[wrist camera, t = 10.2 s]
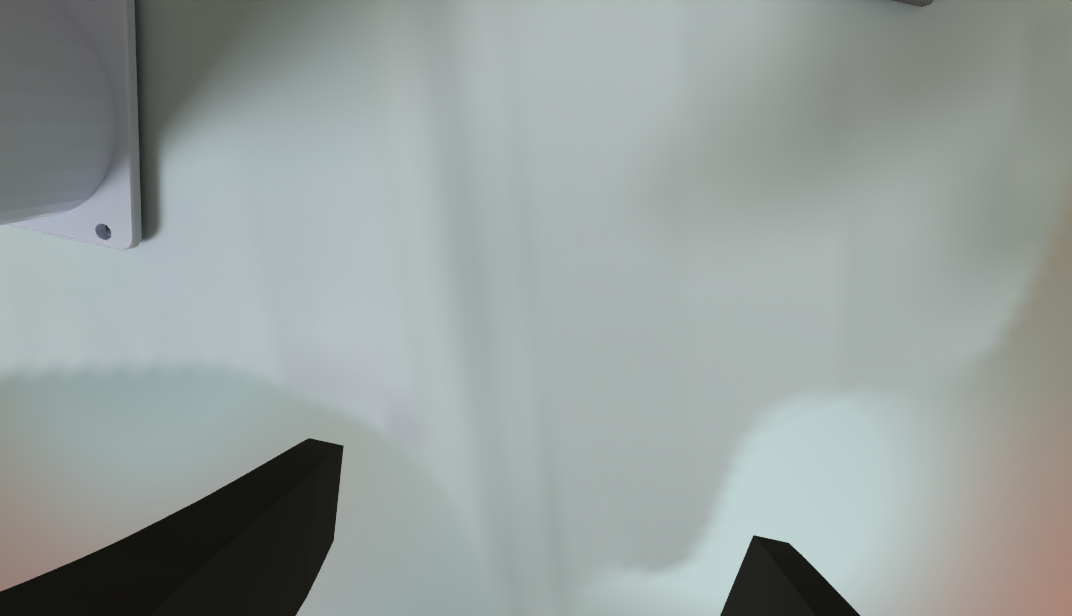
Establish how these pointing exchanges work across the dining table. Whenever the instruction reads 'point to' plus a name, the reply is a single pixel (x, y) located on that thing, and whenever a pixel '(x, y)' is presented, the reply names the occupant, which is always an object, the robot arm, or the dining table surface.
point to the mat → (916, 2)
